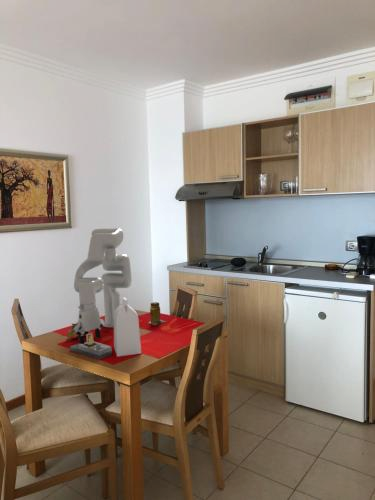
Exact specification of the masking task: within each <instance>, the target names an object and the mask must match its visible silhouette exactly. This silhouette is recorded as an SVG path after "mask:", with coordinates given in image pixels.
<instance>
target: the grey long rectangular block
mask: <svg viewBox="0 0 375 500" xmlns="http://www.w3.org/2000/svg"><path fill="white" fill-rule="evenodd" d="M84 342H85V341H84ZM69 350H70V351H71V352H75V353H78V354H81V355H83V356H87V357H90V358H92V359H93V358H94V359H96V360H101V359H105V358H107V357H109V356H112V355H113V350H112V346H110V345H107V344H104V343H101V342H97V341H94V346H91V347H88V346H87V341H86V342H85V343H84V344H80V343H79V342H78V343H76V344H74V345H71V346H69Z"/></svg>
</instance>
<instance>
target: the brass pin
mask: <svg viewBox="0 0 375 500" xmlns="http://www.w3.org/2000/svg"><path fill="white" fill-rule="evenodd" d="M85 336H86V342H87V346H88V347H91V346H94V342H95V341H94V334H93V333H91V332H90V333H89V334H86V335H85Z"/></svg>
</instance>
